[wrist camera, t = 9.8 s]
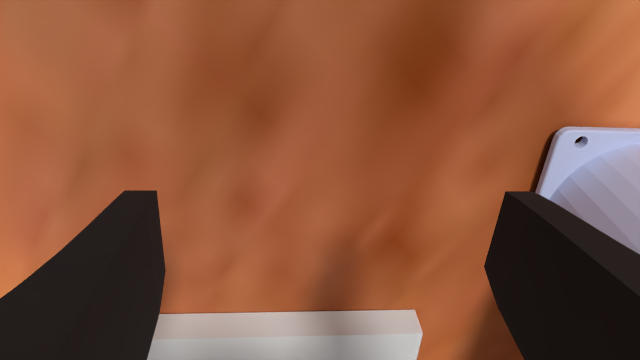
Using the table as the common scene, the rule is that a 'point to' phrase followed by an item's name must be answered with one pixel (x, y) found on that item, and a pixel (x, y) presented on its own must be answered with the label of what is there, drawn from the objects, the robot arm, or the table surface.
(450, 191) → the table surface
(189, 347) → the grey peg base
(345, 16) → the table surface
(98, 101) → the table surface
